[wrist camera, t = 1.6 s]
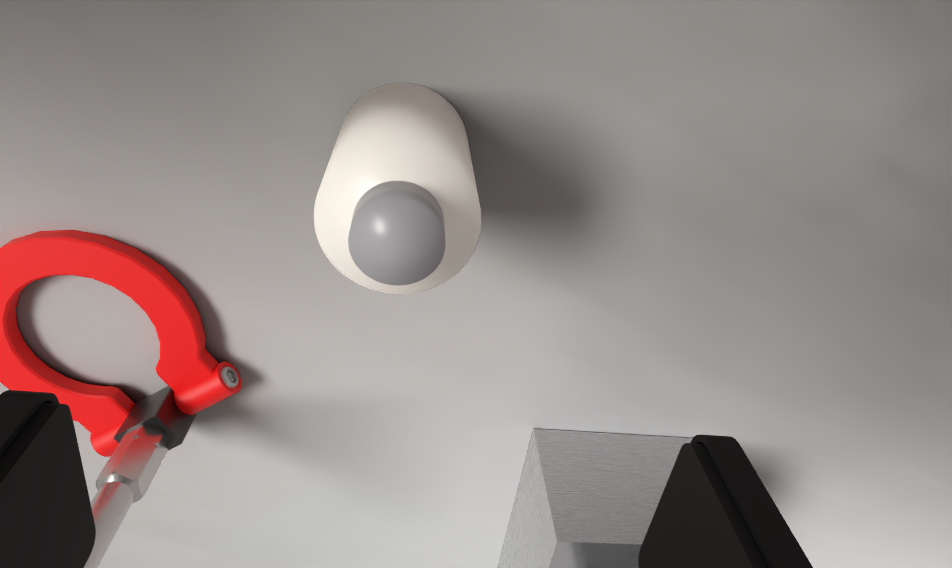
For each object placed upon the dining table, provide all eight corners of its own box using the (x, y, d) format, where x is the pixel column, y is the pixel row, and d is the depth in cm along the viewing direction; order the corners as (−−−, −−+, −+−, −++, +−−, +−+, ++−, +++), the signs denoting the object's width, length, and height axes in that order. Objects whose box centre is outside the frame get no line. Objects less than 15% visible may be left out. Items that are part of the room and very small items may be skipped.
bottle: (341, 74, 21) (307, 148, 14) (476, 92, 21) (498, 170, 15) (337, 199, 23) (305, 310, 17) (459, 212, 23) (472, 323, 17)
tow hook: (-71, 289, 24) (109, 448, 28) (-523, 603, 13) (-112, 793, 17) (102, 184, 22) (265, 369, 27) (-238, 435, 11) (138, 690, 15)
